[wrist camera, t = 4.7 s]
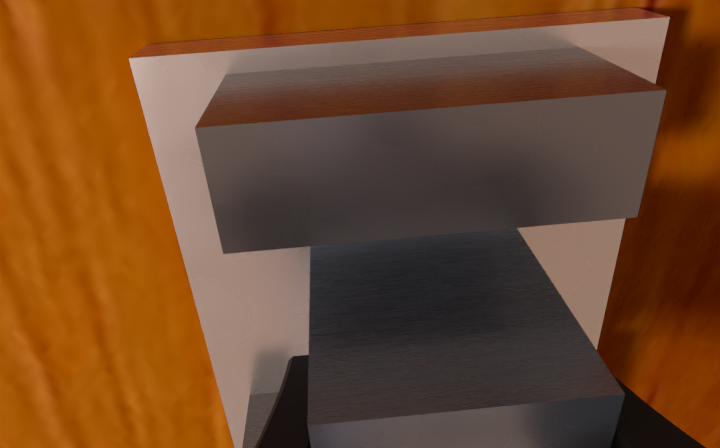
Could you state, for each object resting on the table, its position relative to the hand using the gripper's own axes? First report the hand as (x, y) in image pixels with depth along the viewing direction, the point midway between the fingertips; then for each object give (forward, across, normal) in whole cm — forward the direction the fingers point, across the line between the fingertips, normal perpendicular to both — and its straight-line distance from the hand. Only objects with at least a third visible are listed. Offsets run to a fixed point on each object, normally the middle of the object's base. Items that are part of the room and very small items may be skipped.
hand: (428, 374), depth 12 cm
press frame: (+5, 0, +3) cm, 6 cm away
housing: (+3, 0, 0) cm, 3 cm away
